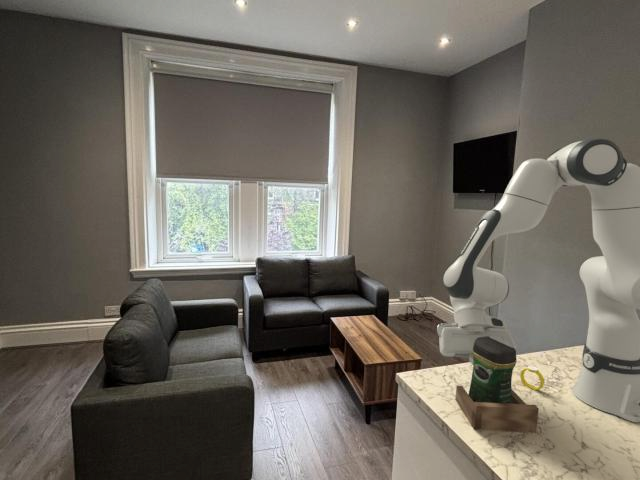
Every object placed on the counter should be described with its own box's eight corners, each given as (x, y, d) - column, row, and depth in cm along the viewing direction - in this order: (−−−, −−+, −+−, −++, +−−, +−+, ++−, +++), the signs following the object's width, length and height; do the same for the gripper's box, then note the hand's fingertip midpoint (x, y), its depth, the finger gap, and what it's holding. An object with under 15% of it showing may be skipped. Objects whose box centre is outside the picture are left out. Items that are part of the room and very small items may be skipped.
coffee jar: (516, 418, 84) (524, 347, 81) (492, 426, 81) (501, 352, 78) (484, 396, 92) (490, 331, 90) (461, 402, 89) (468, 335, 87)
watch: (518, 384, 100) (519, 364, 99) (523, 382, 101) (524, 362, 101) (539, 393, 95) (540, 373, 94) (545, 391, 96) (546, 370, 96)
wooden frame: (509, 402, 90) (511, 381, 90) (536, 432, 79) (539, 408, 78) (455, 399, 91) (457, 378, 90) (473, 429, 79) (476, 405, 78)
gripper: (438, 318, 96) (447, 367, 88) (511, 321, 96) (527, 372, 87) (432, 327, 101) (440, 374, 93) (501, 330, 101) (515, 378, 92)
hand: (483, 373), depth 90 cm, fingers closed, pressing on coffee jar
